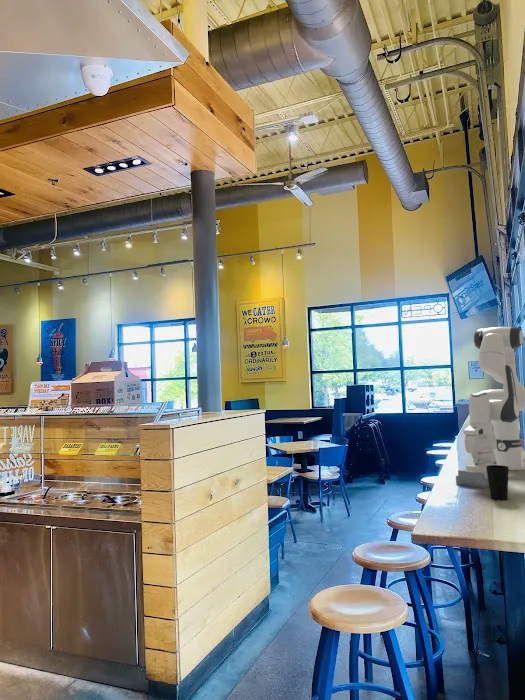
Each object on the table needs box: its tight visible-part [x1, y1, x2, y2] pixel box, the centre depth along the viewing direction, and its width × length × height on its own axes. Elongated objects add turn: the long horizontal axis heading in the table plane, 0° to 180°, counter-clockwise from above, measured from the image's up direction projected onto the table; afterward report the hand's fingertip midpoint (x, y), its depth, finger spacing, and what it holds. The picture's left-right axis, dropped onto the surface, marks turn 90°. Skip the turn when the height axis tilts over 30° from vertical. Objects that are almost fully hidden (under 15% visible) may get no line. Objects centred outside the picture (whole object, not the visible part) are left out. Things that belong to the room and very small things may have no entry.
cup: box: [486, 465, 510, 502], centre depth 191 cm, size 8×8×12 cm
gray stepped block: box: [455, 469, 490, 489], centre depth 219 cm, size 16×13×6 cm
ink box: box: [474, 446, 497, 467], centre depth 221 cm, size 9×5×12 cm, turn 70°
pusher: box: [465, 465, 488, 479], centre depth 217 cm, size 5×10×7 cm, turn 39°
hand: (482, 461), depth 221 cm, fingers open, 8 cm apart
